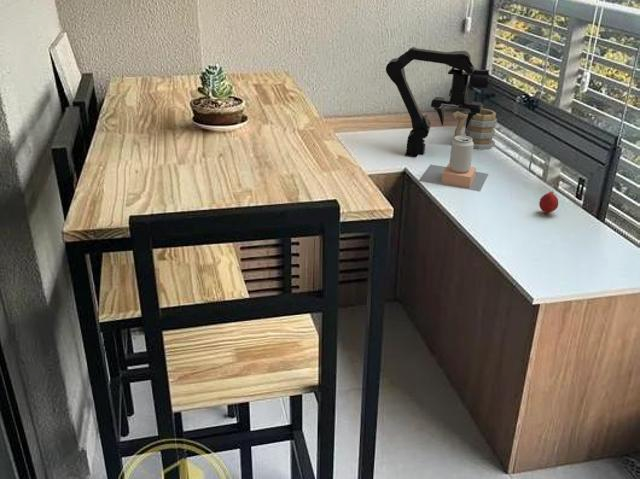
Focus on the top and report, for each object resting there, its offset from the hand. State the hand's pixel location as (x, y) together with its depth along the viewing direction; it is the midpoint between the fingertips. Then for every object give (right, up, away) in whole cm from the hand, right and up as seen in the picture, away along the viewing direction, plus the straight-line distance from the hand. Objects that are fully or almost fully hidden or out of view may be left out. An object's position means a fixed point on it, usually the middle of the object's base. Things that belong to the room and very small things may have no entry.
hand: (454, 126), depth 248 cm
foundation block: (-2, -22, -17) cm, 28 cm away
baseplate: (-3, -22, -14) cm, 26 cm away
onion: (+22, -35, -37) cm, 56 cm away
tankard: (+11, -4, +21) cm, 24 cm away
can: (-2, -19, -18) cm, 26 cm away
